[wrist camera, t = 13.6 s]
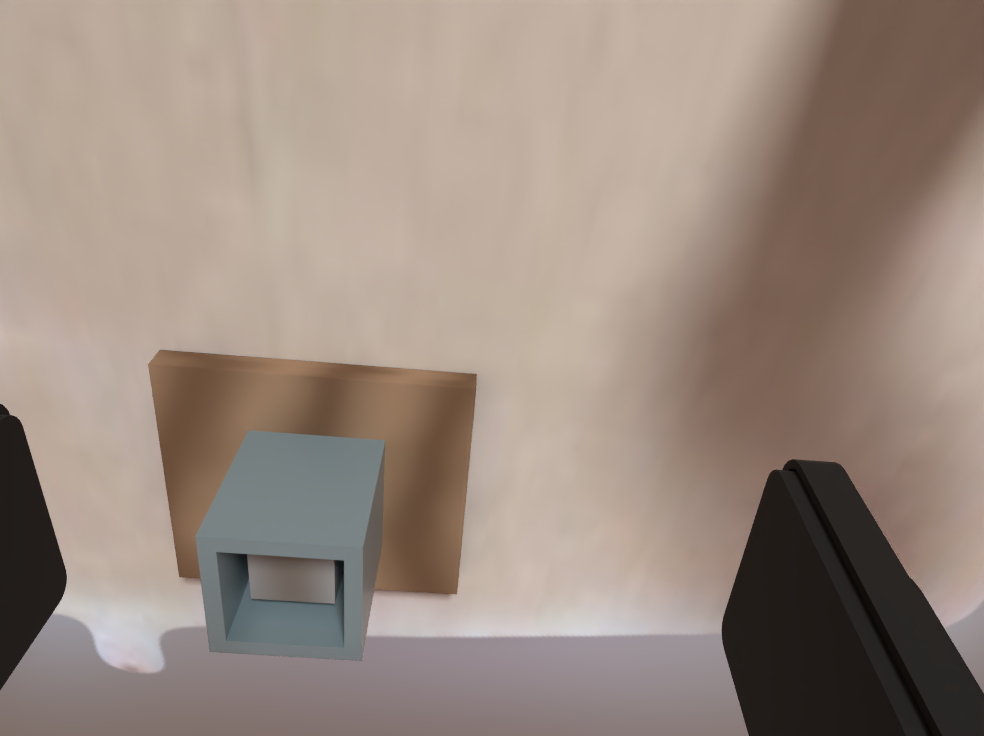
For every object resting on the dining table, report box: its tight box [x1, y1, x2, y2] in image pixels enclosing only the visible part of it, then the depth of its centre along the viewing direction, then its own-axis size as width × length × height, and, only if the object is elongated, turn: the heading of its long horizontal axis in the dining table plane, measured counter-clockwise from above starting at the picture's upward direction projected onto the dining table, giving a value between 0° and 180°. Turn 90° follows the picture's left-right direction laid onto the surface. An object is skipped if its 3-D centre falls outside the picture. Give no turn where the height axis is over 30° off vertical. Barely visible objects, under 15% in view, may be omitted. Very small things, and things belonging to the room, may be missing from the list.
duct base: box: [148, 350, 476, 604], centre depth 39 cm, size 16×14×8 cm
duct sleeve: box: [195, 430, 385, 661], centre depth 37 cm, size 7×7×8 cm
